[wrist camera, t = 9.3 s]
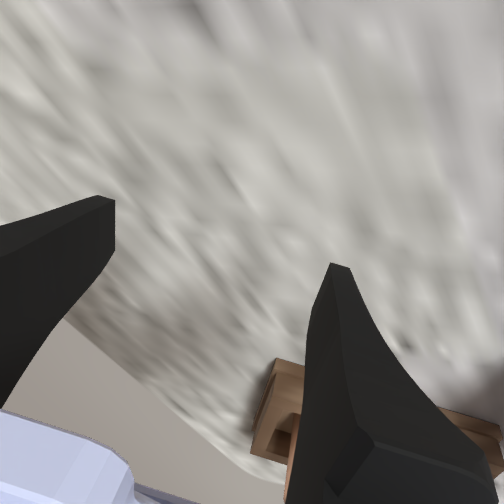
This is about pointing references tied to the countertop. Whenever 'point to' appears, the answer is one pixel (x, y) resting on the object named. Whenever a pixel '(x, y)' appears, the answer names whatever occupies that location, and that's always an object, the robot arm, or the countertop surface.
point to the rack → (290, 401)
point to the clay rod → (292, 450)
